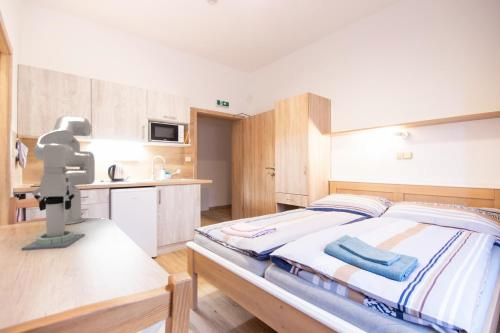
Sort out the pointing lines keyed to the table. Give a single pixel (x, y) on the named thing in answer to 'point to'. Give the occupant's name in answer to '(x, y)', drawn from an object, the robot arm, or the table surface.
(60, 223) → the travel mug
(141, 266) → the table surface
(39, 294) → the table surface
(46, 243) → the cup dock
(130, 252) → the table surface
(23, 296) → the table surface
